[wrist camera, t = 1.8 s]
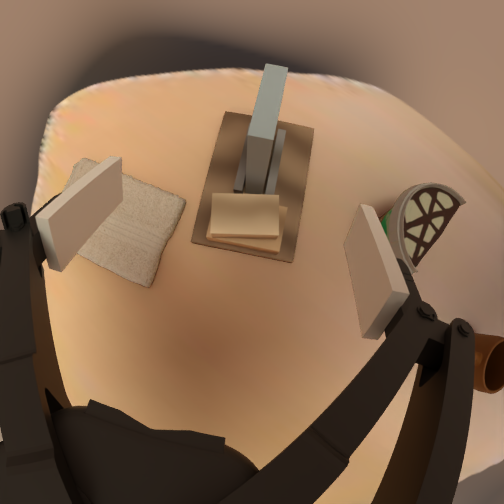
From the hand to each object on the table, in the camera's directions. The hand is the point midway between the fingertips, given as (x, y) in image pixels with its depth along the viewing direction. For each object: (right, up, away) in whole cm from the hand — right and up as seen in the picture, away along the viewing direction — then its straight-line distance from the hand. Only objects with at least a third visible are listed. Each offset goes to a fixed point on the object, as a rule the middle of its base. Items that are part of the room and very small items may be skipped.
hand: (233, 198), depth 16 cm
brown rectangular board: (+1, +6, +21) cm, 22 cm away
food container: (+19, 0, +21) cm, 28 cm away
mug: (+30, -18, +19) cm, 40 cm away
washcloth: (-17, +1, +21) cm, 27 cm away
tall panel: (+2, +8, +21) cm, 22 cm away
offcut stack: (0, 0, +19) cm, 20 cm away
